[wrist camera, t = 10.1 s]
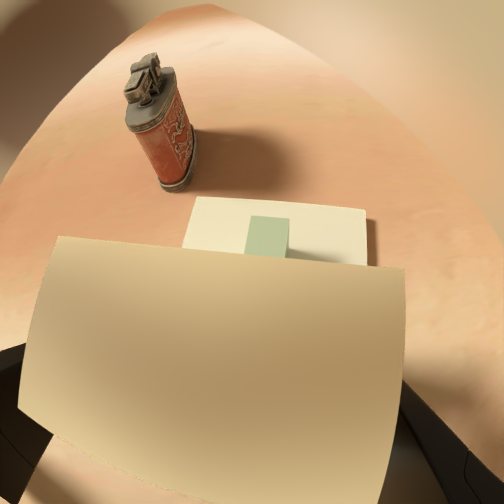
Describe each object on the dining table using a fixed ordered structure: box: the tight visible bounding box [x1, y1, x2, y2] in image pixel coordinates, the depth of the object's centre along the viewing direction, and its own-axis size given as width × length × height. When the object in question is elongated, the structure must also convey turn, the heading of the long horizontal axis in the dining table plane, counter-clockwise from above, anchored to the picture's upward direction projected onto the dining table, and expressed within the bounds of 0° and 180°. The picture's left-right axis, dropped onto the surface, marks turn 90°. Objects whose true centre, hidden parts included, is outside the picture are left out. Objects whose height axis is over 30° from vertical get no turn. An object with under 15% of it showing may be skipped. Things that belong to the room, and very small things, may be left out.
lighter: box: [123, 52, 198, 193], centre depth 19 cm, size 8×3×10 cm, turn 4°
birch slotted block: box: [18, 236, 405, 504], centre depth 9 cm, size 4×7×12 cm, turn 81°
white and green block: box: [182, 196, 367, 266], centre depth 14 cm, size 18×12×4 cm, turn 171°
